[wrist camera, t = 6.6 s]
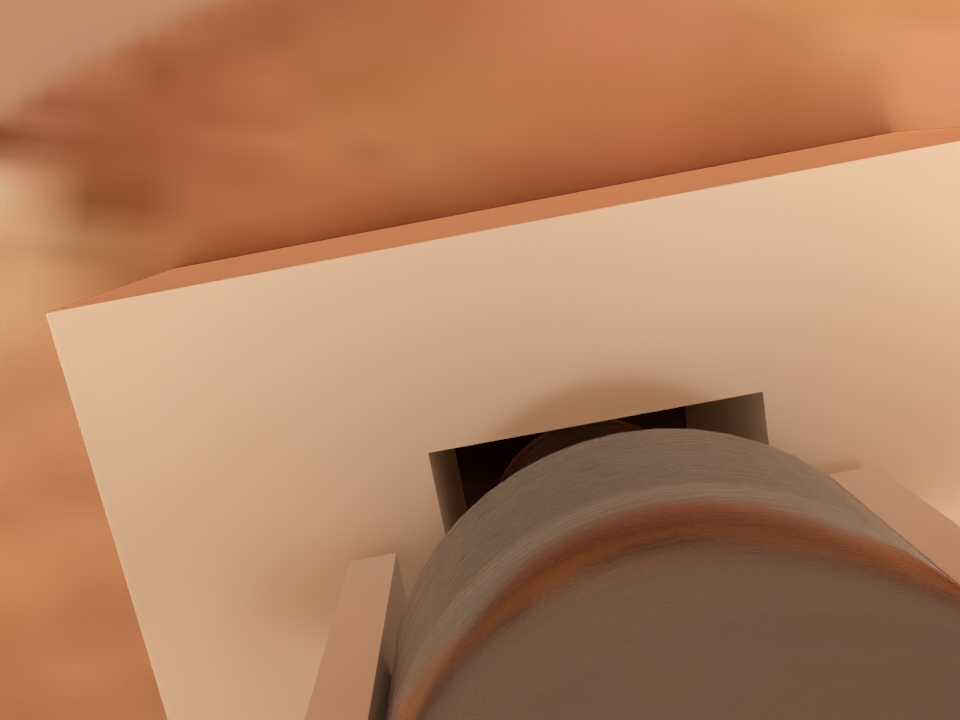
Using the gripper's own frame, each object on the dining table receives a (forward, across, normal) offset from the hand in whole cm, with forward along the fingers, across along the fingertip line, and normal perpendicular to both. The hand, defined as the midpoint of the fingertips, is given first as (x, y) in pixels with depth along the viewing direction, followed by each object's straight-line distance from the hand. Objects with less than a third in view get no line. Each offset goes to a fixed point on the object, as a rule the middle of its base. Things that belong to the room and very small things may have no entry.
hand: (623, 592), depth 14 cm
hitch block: (+7, 0, 0) cm, 7 cm away
